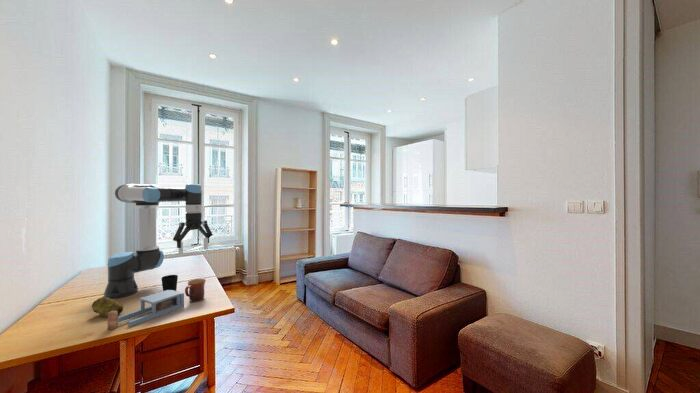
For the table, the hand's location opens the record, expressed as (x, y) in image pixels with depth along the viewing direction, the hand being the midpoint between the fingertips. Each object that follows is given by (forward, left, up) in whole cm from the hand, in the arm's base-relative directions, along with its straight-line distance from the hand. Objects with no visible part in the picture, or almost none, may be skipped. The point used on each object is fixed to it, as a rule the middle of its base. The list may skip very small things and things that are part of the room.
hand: (193, 251), depth 145 cm
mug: (-1, +1, -28) cm, 28 cm away
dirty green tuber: (-22, -29, -28) cm, 46 cm away
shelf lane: (-4, -19, -27) cm, 34 cm away
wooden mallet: (-4, -23, -27) cm, 36 cm away
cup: (-17, -3, -28) cm, 33 cm away
